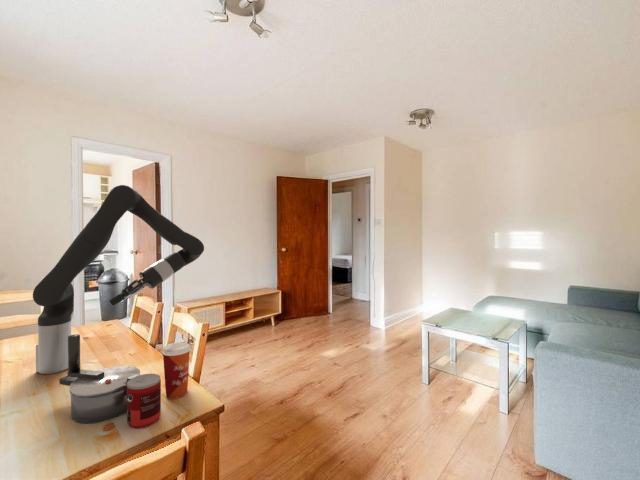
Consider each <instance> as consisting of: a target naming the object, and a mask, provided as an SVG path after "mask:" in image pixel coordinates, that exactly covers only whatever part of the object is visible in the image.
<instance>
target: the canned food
mask: <svg viewBox="0 0 640 480" xmlns="http://www.w3.org/2000/svg"><path fill="white" fill-rule="evenodd" d="M161 379H162V378H161V376H160V374H157V373H144V374H140V375H139V376H136V377H134V378H132V379H130V380H129V381H128V382H127V413H126V417H127V418H126V421H127V425H128V426H129V428H132V429H143V428H147V427H150V426H152V425H154V424H155V423H157V422H158V421H159V420H160V417H161V415H162V412H161V411H162V407H161V406H162V405H161V403H162V401H161V400H162V397H161V395H162V394H161V393H162V392H161V391H162V387H161V385H162V381H161Z"/></svg>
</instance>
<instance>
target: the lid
mask: <svg viewBox="0 0 640 480" xmlns="http://www.w3.org/2000/svg"><path fill="white" fill-rule="evenodd" d="M139 375H141V371H140V369H139V368H138V367H136V366H132V365H115V366H110V367H104V368H100V369H97V370H89V369H81V334H78V333H77V334H71V335H70V336H68V369H67V375H66V376H68V377H76V378H77V379H76V380H74V381H73V382H72V383H71V384H70V386H69V394H70V395H71V394H72V395H74V396H79V397H92V396H99V395H104V394H109V393H112V392H115V391H118V390H121V389H123V388H126V387H127V382H128V381H129V380H130V379H132V378H134V377H136V376H139Z"/></svg>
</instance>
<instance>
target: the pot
mask: <svg viewBox="0 0 640 480" xmlns="http://www.w3.org/2000/svg"><path fill="white" fill-rule="evenodd" d="M76 379H77V378H76V377H68V376H67V375H66V376H63V377H61V378H59V383H58V384H59V385H62V386H66V387H67V386H69V387H70V384H71V383H72V382H73V381H74V380H76ZM70 412H71V413H70V416H71V417H70V418H71V420H72V421H73V422H75V423H76V424H82V425H85V424H86V425H87V424H90V425H91V424H97V423H101V422H102V423H103V422H106V421H110V420H113V419H116V418H119V417H120V416H123V415H125V414H127V387H126V388H123V389H121V390H118V391H115V392H112V393H109V394H104V395H99V396H92V397H79V396H74V395H72V394H71V393H70Z"/></svg>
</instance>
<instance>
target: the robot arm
mask: <svg viewBox="0 0 640 480" xmlns="http://www.w3.org/2000/svg"><path fill="white" fill-rule="evenodd" d="M126 212H129V213H130V214H132V215H135V216H136V217H138V218H139V219H141V221H143V222H144V223H146V224H147V225H148V226H149V227H150V229H152V230H153V231H154V232H155V233H156V234H157V235H159V237H161V238H162V239H163V240H165V241H166V242H168V243H170V245H172V246H179V247H180V248H181V249H179V250H177V252H172V253H170V254H168V255H167V256H165V257H163V258H161V259H159V260H158V261H156V262H154V263H153V264H151V265H150V266H148V267H146V268H145V269H143V270H142V271H140V272H139V273H138V276H139V278H140V279H135V280H133V281H132V282H131V283H130V284H128V285H127V286H126V287H125V288H124V289H122V290H121V291H120V293H119V294H117V295H116V296H114V297H113V298H112V299H111V298H110V300H109V302H108V303H109V304H110V305H111V306H112V307H115V306H116V305H118V304H119V303H121V302H122V301H127V300H128V299H130V298H132V297H134V296H136V295H138V293H141V292H143V291H144V290H145V288H146V287H148V288H149V289H151V290H153V289H155V288H156V287H158V286H159V285H161V284H162V283H163V282H165V281H167V280H168V279H169V278H171V277H172V276H173V275H174V274H175V273H177V272H178V271H180V270H181V269H183V268H184V267H186V266H189V264H192V263H193V262H194V261H196V260H197V259H198V258H199V257H201V255H202V254H203V253H204V251H205V246H204V243H203V242H202V241H201V239H199V238H198V237H196V236H194V235H193V234H191V233H188V232H187V231H184V230H183V229H182V228H180V227H179V226H178V225H176V224H175V223H174V222H173V221H172V220H170V219H169V218H168V217H165V216H164V215H163V214H162V213H160V212H159V211H158V210H157V209H155V208H154V207H153V206H152V205H151V204H150V203H148V201H147V200H146V199H145V198H144V197H143V195H141V194H140V192H139V191H138V190H137V189H135V188H133V187H131V186H129V185H127V184H126V185H125V184H120V185H116V186H114V187H113V188H112V189H110V191H109V192H108V194H107V196H106V197H105V199H104V200H103V202H102V204H101V205H100V207H99V209H98V210H97V212H96V213H95V214H94V215H93V216H92V218H90V220H89V221H88V223H86V225H85V226H84V228H83V229H82V230H81V231H80V232H79V234H77V236H76V237H75V239H74V240H73V241H72V242H71V244H70V245H69V247H68V248H67V249H66V250H65V252H64V253H63V255H62V256H61V258H60V259H59V260H58V262H57V263H56V264H55V265H54V267H53V268H52V269H51V270H50V272H48V273H47V274H46V275H45V276H44V277H43V278H42V280H40V282H39V283H38V284H37V285H36V286H35V287H34V288H33V291H32V300H33V302H34V303H35V304H36V305H38V306H41V307H43V310H42V311H41V313H40V314H39V316H38V318H37V332H38V333H37V336H38V337H37V341H38V343H37V344H36V345H35V372H36V373H39V374H41V375H51V374H56V373H61V372H63V371H66V370H68V336H70V335H72V315H73V312H74V304H75V303H74V301H75V300H74V299H75V290H74V285H73V284H72V283H73V281H74V279H76V277H77V276H78V275H79V274H80V273H81V272H83V270H85V269H86V268H88V266H89V265H90V264H92V263H93V262H94V261H95V260H96V259H97V258H98V257H99V256H100V254H101V253H102V252H103V251H104V249H105V248H106V246H107V245H108V243H109V241H110V239H111V237H112V235H113V231H114V229H115V228H116V227H115V226H116V225H117V223H118V222H119V221H120V219H121V218H122V217H123V216H124V215H125V214H126Z"/></svg>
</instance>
